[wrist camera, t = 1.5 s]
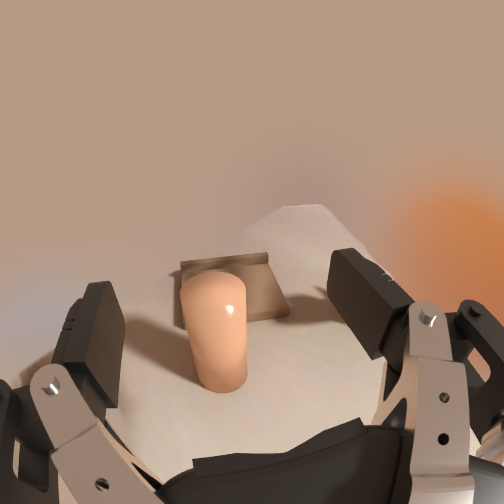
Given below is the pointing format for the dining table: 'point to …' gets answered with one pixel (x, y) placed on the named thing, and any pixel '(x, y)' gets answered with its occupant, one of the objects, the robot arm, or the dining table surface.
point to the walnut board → (245, 283)
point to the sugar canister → (217, 329)
